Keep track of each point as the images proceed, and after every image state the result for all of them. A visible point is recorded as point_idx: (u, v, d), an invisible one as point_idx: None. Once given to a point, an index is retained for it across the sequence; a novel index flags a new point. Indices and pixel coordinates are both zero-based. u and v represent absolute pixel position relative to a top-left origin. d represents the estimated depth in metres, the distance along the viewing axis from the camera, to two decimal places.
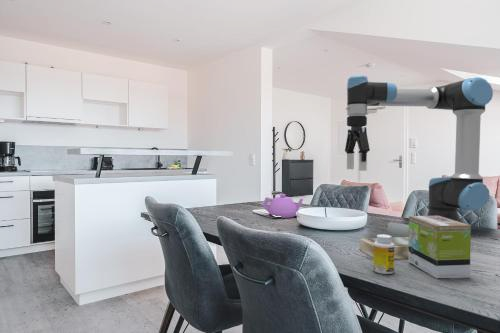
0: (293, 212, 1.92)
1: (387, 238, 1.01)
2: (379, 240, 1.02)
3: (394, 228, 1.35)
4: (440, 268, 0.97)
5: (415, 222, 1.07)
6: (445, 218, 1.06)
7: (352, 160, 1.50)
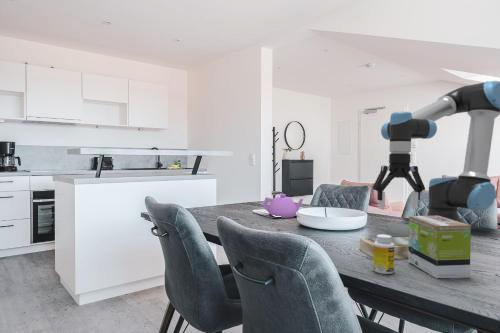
0: (293, 212, 1.92)
1: (387, 238, 1.01)
2: (379, 240, 1.02)
3: (394, 228, 1.35)
4: (440, 268, 0.97)
5: (415, 222, 1.07)
6: (445, 218, 1.06)
7: (415, 199, 1.38)
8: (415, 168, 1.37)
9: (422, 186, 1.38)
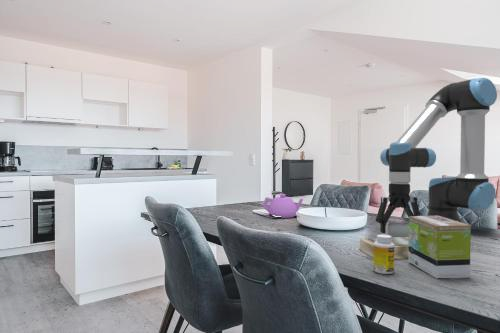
0: (293, 212, 1.92)
1: (387, 238, 1.01)
2: (379, 240, 1.02)
3: (394, 227, 1.35)
4: (440, 268, 0.97)
5: (415, 222, 1.07)
6: (445, 218, 1.06)
7: None
8: (415, 199, 1.38)
9: None
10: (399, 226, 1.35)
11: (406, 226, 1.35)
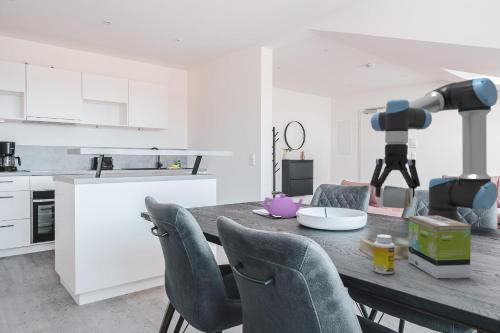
0: (293, 212, 1.92)
1: (387, 238, 1.01)
2: (379, 240, 1.02)
3: (390, 191, 1.26)
4: (440, 268, 0.97)
5: (415, 222, 1.07)
6: (445, 218, 1.06)
7: (409, 196, 1.29)
8: (413, 161, 1.28)
9: (418, 182, 1.29)
10: (395, 189, 1.26)
11: (403, 189, 1.25)
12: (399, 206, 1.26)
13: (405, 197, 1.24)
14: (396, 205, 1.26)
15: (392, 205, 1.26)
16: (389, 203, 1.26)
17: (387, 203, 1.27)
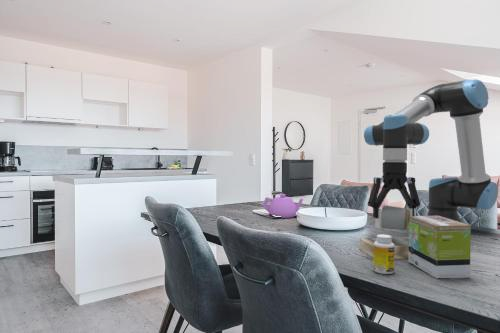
0: (293, 212, 1.92)
1: (387, 238, 1.01)
2: (379, 240, 1.02)
3: (389, 212, 1.19)
4: (440, 268, 0.97)
5: (415, 222, 1.07)
6: (445, 218, 1.06)
7: None
8: (412, 180, 1.21)
9: (417, 201, 1.21)
10: (394, 210, 1.19)
11: (402, 210, 1.18)
12: (398, 228, 1.18)
13: (405, 219, 1.16)
14: (395, 227, 1.18)
15: (391, 227, 1.19)
16: (388, 224, 1.19)
17: (386, 225, 1.19)
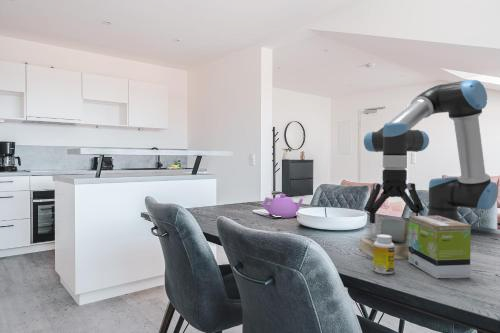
0: (293, 212, 1.92)
1: (387, 237, 1.01)
2: (379, 240, 1.02)
3: (389, 224, 1.19)
4: (440, 268, 0.97)
5: (415, 222, 1.07)
6: (445, 218, 1.06)
7: None
8: (412, 186, 1.21)
9: (421, 206, 1.22)
10: (394, 223, 1.19)
11: (402, 222, 1.18)
12: (398, 240, 1.19)
13: (404, 231, 1.17)
14: (395, 239, 1.19)
15: None
16: None
17: None
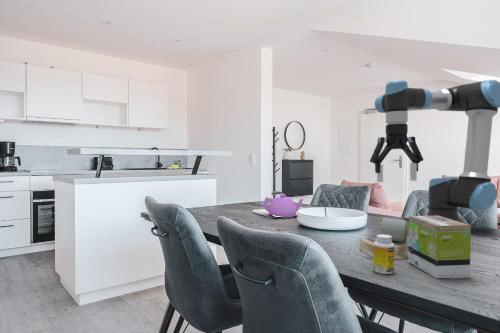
0: (293, 212, 1.92)
1: (387, 238, 1.01)
2: (379, 240, 1.02)
3: (389, 224, 1.19)
4: (440, 268, 0.97)
5: (415, 222, 1.07)
6: (445, 218, 1.06)
7: (413, 171, 1.35)
8: (412, 139, 1.34)
9: (420, 157, 1.35)
10: (394, 222, 1.19)
11: (402, 222, 1.19)
12: (398, 240, 1.19)
13: (405, 231, 1.17)
14: (395, 239, 1.19)
15: None
16: None
17: None
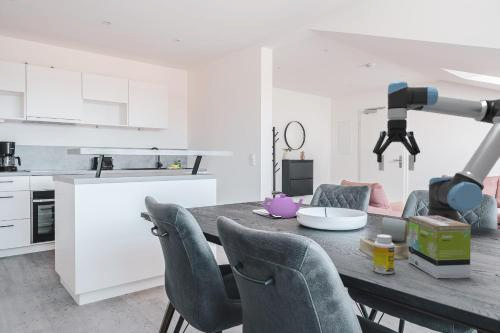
0: (293, 212, 1.92)
1: (386, 237, 1.01)
2: (379, 240, 1.02)
3: (389, 224, 1.19)
4: (440, 268, 0.97)
5: (415, 222, 1.07)
6: (445, 218, 1.06)
7: (411, 161, 1.53)
8: (411, 133, 1.52)
9: (418, 149, 1.52)
10: (394, 222, 1.19)
11: (402, 222, 1.19)
12: (398, 240, 1.19)
13: (405, 231, 1.17)
14: (395, 239, 1.19)
15: None
16: None
17: None
